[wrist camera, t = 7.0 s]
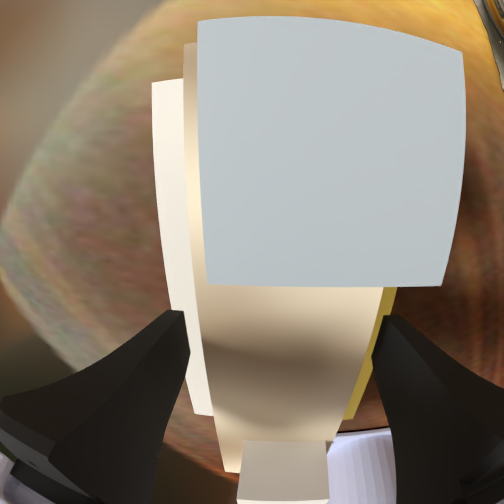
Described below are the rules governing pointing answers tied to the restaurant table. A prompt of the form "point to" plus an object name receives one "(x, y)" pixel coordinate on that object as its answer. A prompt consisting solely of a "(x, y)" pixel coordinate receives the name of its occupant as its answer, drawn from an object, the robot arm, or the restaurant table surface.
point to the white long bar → (271, 336)
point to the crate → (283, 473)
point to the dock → (179, 249)
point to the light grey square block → (327, 153)
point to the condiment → (494, 28)
